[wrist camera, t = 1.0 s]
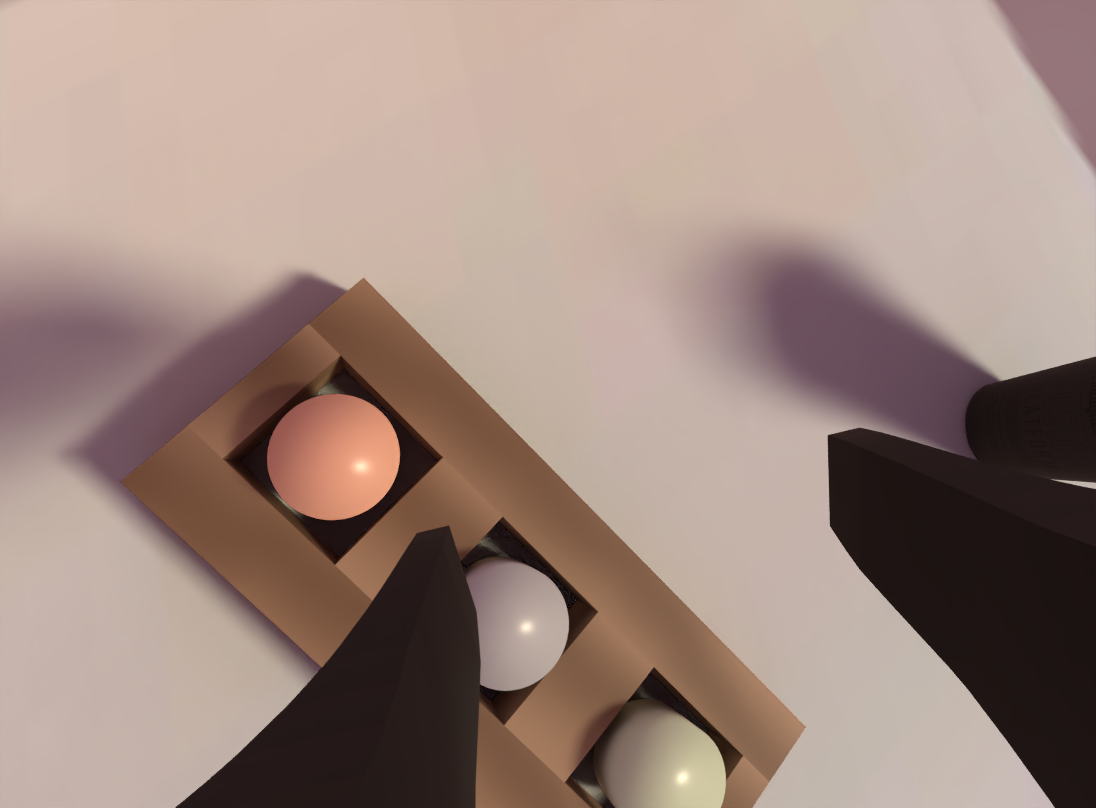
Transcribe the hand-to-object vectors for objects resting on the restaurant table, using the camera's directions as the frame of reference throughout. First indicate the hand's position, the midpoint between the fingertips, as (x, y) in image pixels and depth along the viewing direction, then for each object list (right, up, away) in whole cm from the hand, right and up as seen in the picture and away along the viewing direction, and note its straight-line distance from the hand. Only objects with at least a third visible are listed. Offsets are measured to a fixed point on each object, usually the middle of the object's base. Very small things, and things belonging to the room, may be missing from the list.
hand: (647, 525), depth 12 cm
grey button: (-4, -5, +11) cm, 13 cm away
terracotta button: (-9, 0, +11) cm, 14 cm away
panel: (-4, -6, +13) cm, 14 cm away
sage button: (+2, -11, +12) cm, 17 cm away
